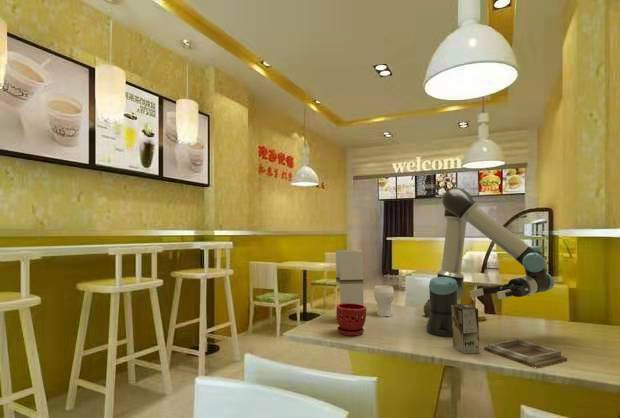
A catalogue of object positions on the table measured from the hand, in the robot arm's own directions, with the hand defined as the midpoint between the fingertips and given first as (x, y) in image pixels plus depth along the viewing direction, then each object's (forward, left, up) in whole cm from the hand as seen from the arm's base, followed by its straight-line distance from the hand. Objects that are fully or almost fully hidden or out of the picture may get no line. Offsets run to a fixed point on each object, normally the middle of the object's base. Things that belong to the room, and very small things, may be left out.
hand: (483, 295), depth 140 cm
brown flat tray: (+14, +3, -19) cm, 24 cm away
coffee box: (+1, -11, -20) cm, 23 cm away
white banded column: (-55, -29, -20) cm, 66 cm away
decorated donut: (-32, +31, -20) cm, 49 cm away
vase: (-45, +14, -20) cm, 51 cm away
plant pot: (-36, -39, -20) cm, 57 cm away
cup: (-58, -6, -20) cm, 62 cm away
